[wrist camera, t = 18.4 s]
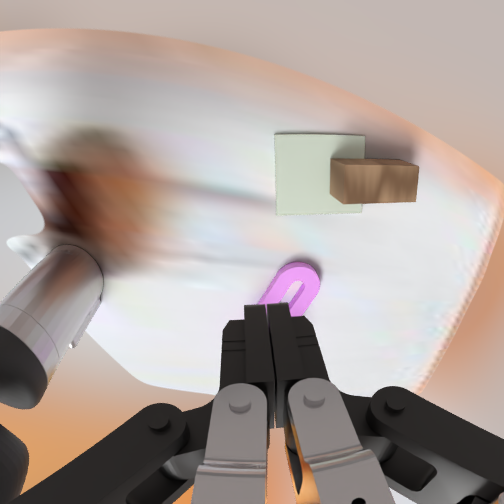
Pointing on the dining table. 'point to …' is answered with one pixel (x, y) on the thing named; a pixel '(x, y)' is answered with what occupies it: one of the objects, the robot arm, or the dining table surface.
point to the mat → (311, 172)
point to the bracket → (283, 282)
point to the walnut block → (373, 180)
